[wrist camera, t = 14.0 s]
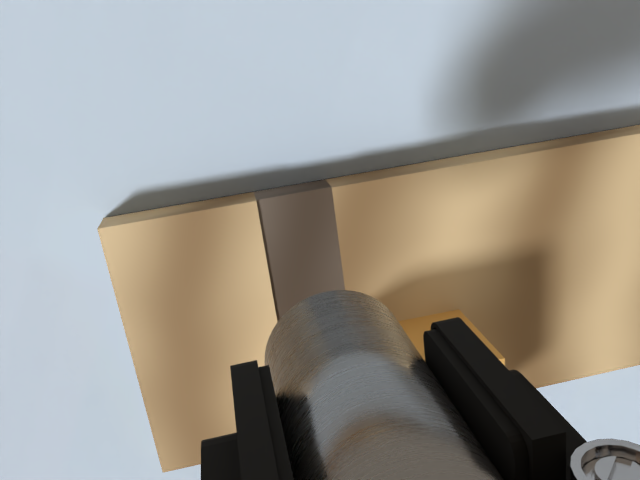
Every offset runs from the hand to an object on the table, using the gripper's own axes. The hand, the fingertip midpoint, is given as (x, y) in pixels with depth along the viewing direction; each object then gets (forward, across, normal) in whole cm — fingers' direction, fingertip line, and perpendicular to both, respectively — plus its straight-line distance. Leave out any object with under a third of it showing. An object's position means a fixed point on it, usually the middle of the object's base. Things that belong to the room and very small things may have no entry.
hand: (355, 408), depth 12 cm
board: (+9, -5, +2) cm, 11 cm away
